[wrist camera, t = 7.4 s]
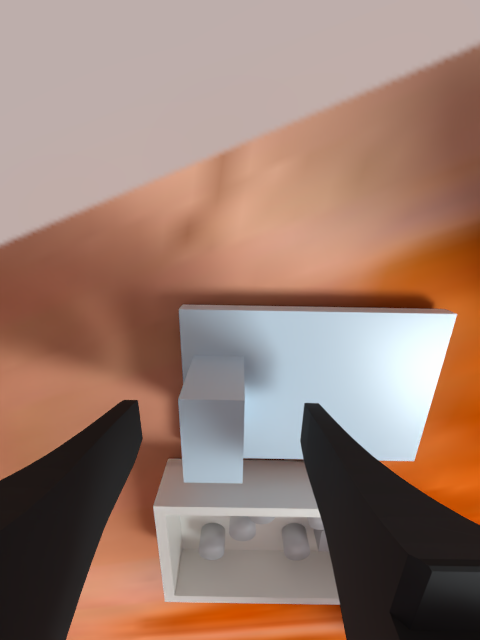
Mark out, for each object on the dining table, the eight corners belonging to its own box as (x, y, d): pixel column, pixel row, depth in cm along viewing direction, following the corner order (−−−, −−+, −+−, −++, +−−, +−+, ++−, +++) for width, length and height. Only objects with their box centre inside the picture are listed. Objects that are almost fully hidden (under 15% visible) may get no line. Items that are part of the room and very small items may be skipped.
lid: (405, 450, 16) (462, 526, 12) (190, 446, 16) (172, 521, 12) (444, 308, 13) (535, 346, 9) (182, 304, 13) (155, 340, 9)
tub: (346, 549, 19) (364, 605, 17) (176, 546, 19) (165, 601, 17) (365, 461, 17) (390, 510, 14) (168, 458, 17) (153, 506, 14)
